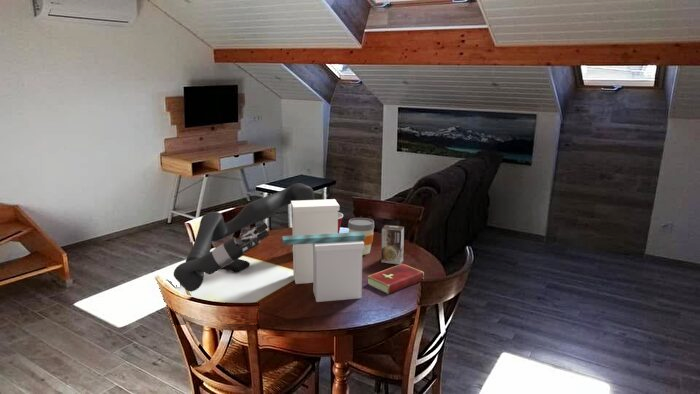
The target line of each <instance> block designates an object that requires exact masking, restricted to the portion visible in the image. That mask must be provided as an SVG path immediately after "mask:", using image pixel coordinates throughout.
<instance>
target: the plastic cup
mask: <svg viewBox="0 0 700 394" xmlns="http://www.w3.org/2000/svg"><path fill="white" fill-rule="evenodd" d="M343 218H344V214H343V213H342V212H339V211H338V233H340V230H341V225H342V222H343V221H342V220H343Z"/></svg>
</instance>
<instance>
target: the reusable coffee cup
mask: <svg viewBox="0 0 700 394" xmlns="http://www.w3.org/2000/svg"><path fill="white" fill-rule="evenodd" d="M347 228H348V233H353V232H363V233H364V235H365V241H363V242H364V249H363V250H362V256H365V255H368V254H370V252H371V248H372V244H373V239H374V234H375V233H374V229H375V221H374V219H371V218H367V217H354V218H350V219H349V220H348V223H347Z"/></svg>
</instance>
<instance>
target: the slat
mask: <svg viewBox="0 0 700 394" xmlns="http://www.w3.org/2000/svg"><path fill="white" fill-rule="evenodd" d="M281 237H282V238H281V239H282V245H283V246H291V245H292V246H293V245H295V244H312V243H330V242H347V241H365V235H364V233H363V232H353V233H349V232H339V233H334V234H316V235H297V236H292V235H283V236H281Z"/></svg>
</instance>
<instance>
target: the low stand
mask: <svg viewBox="0 0 700 394" xmlns="http://www.w3.org/2000/svg"><path fill="white" fill-rule="evenodd" d="M312 245H313V284H312V285H313V287H312V289H313V291H312V292H313V295H314V297H315V302H316V303H320V302H322V303H323V302H333V301H334V302H335V301H346V300H354V299H362V293H363V291H362V289H363V288H362V287H363V286H362V285H363V255H362V250H363V249H364V242H363V241H347V242H330V243H312Z"/></svg>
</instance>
